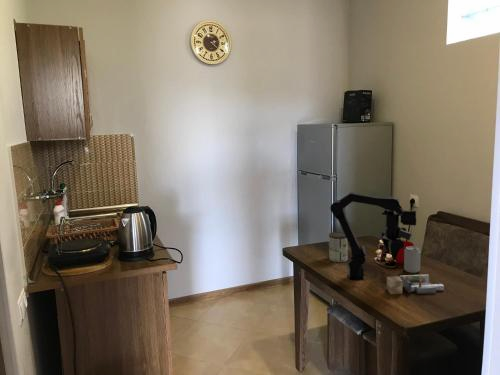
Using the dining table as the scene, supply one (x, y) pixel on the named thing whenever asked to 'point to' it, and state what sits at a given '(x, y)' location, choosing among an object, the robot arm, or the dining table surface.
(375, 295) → the dining table surface
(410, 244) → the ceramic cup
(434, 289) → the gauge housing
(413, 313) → the dining table surface
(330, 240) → the coffee can
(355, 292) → the dining table surface
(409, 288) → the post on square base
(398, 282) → the block
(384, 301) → the dining table surface
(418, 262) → the can
